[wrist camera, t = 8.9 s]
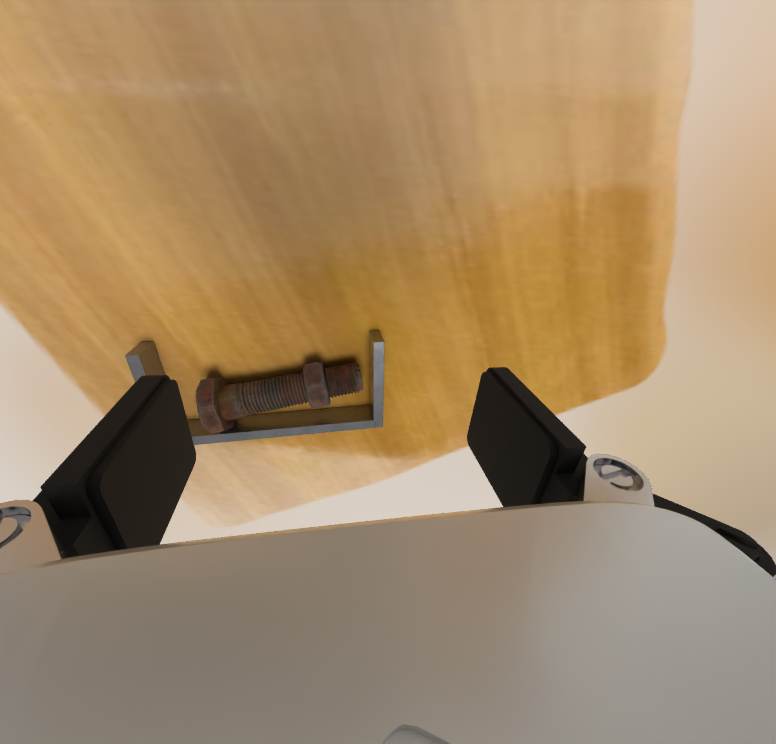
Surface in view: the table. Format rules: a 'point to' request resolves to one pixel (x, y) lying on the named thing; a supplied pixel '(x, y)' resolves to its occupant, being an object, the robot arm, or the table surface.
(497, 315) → the table surface
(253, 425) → the dock
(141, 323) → the table surface
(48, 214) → the table surface
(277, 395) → the bolt
